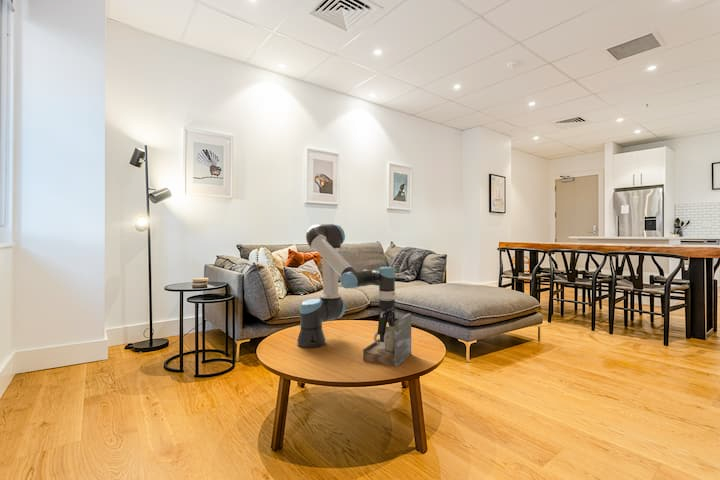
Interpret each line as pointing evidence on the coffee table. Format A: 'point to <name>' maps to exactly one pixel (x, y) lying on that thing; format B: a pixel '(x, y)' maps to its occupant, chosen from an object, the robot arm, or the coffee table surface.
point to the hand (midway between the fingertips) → (387, 345)
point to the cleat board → (401, 345)
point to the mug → (388, 338)
